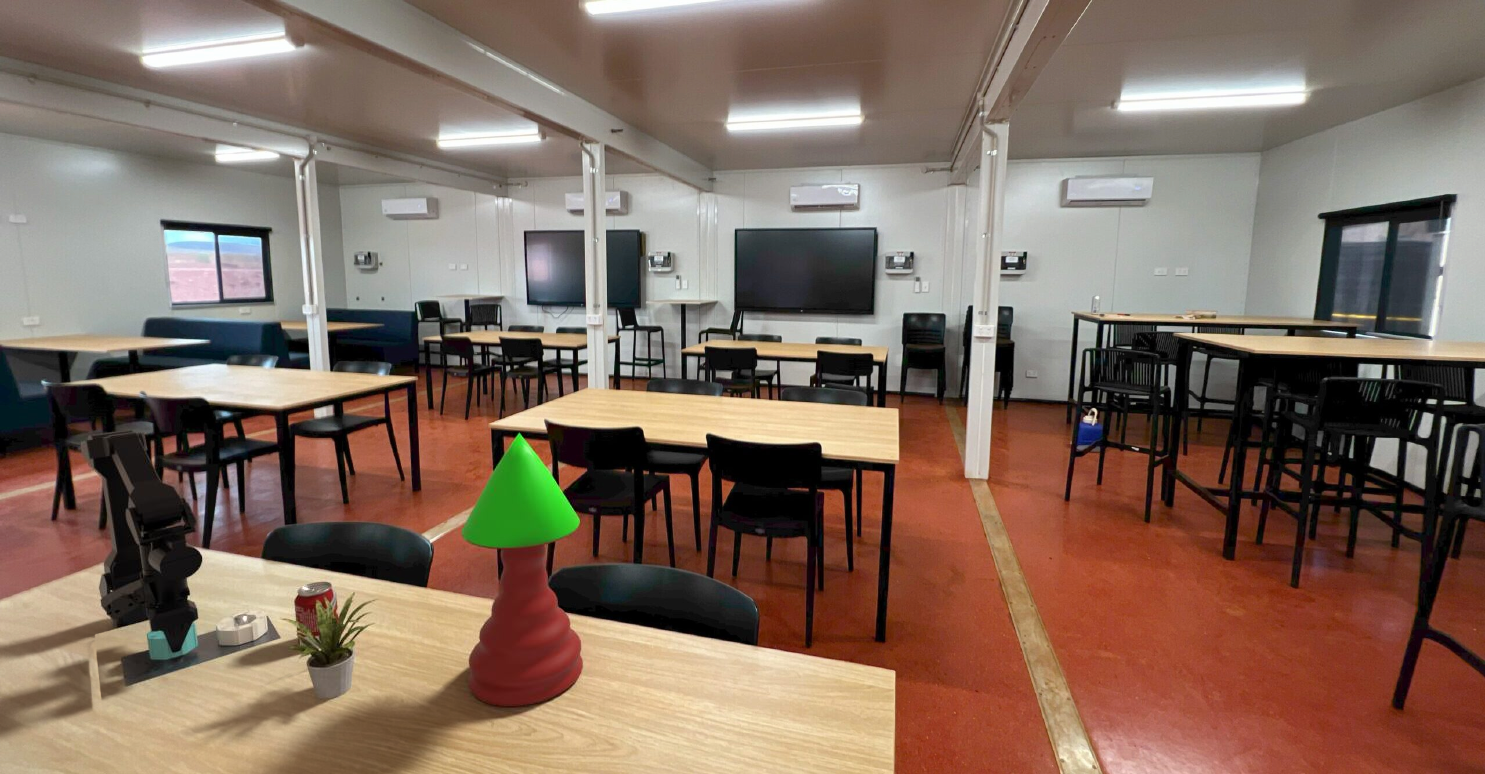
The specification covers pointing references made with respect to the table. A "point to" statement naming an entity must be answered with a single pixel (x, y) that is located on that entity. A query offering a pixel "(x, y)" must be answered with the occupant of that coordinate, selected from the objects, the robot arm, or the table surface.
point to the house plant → (330, 650)
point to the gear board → (189, 654)
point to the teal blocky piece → (161, 648)
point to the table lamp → (522, 585)
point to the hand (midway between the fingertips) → (173, 644)
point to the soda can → (313, 606)
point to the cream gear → (241, 628)
